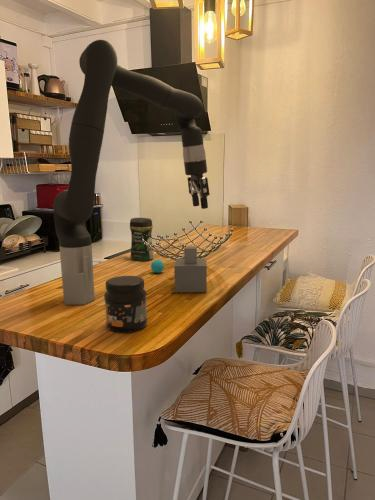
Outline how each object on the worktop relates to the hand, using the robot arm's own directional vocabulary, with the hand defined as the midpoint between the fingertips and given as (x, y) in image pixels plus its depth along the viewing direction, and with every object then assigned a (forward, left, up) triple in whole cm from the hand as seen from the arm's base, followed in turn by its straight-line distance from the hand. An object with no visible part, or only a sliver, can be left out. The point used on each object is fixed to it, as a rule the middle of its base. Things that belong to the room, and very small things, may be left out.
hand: (200, 207), depth 137 cm
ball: (+9, +17, -23) cm, 30 cm away
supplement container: (-43, +20, -26) cm, 54 cm away
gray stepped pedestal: (-11, +4, -26) cm, 28 cm away
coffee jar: (+32, +26, -26) cm, 49 cm away
